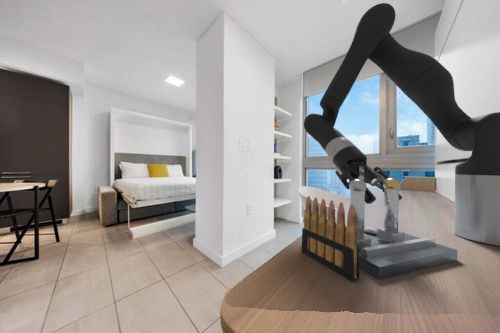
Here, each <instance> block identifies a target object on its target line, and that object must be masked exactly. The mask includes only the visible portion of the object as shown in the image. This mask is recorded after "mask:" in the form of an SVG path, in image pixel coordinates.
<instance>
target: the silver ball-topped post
mask: <svg viewBox="0 0 500 333" xmlns="http://www.w3.org/2000/svg"><path fill="white" fill-rule="evenodd" d="M349 188H350V189H349V190H350V191H349V192H350V196H349V197H350V198H349V207H350V206H351V204H352V205H353V206H354V209H355V214H356V229H357V247H358V251H360V250H362V248H364V247H370V246H371V238H368V237H366V236H364V230H365V215H366V214H365V211H366V210H365V208H366V206H365V205H366V202H365V190H366V188H368V187H367V183H365V182H364V181H362V180H360V179H355V180H352V181H351V182H350V184H349Z"/></svg>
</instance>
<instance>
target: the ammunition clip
mask: <svg viewBox="0 0 500 333" xmlns="http://www.w3.org/2000/svg"><path fill="white" fill-rule="evenodd" d="M335 208H336V207H335V204H334V201H333V200H330V201H329V204H328V211H327V204H326V200H325V198H322V199H321V202H320V205H319V202H318V199H317V196H316V197H314V198H313V203H312V201H311V197H310V195H308V196H307V198H306V201H305V210H304V216H303V217H304V218H303V227H302V231H301V234H302V235H301V248H300V252H301V251H302V252H303V253H302V252H301V253H302V254H304V255H305V254H306V256H308V257H309V258H311V259H312V260H314V261H316V262H317V263H319V264H320V265H323V266H324V267H326V268H328V269H329V270H331V271H332V272H334V273H336V274H338V275H339V276H341V277H343V278H345V279H347V280H348V281H350V282H351V283H354V282H357V281H358V280H359V279H360V267H359V251H358V247H357V229H356V214H355V209H354V206H353V205H352V204H351V206H350V205H349V208H348V212H347V221H346V215H345V214H346V212H345V211H346V210H345V207H344V204H343V201H342V202H339V205H338V207H337V214H336V209H335ZM336 216H337V217H336ZM346 222H347V223H346Z"/></svg>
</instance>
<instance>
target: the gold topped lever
mask: <svg viewBox="0 0 500 333" xmlns="http://www.w3.org/2000/svg"><path fill="white" fill-rule="evenodd" d="M383 187H384V192H383V193H384V194H383V227H382V228H376V229H377V230H374V229H375V228H371V227H368V226H366V227H365V230H368V231H371V232H373V233H376V234H377V238H380V239H382V240H385V241H387V242H390V243H396V242H402V241H405V234H406V232H405V231H403V230H399V213H400V211H399V210H400V209H399V208H400V200H399V194H400V188H401V182H400V181H399V180H398V179H397V178H394V177H390V178H388V179H386V180H385V181H384V182H383Z"/></svg>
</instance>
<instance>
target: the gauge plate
mask: <svg viewBox="0 0 500 333" xmlns="http://www.w3.org/2000/svg"><path fill="white" fill-rule="evenodd" d="M373 229H374V230H377V229H378V228H373ZM364 236H366V237H368V238H371V246H370V247H364V248H362V250H360V251H359V269H362V270H363V271H364V272H366V273H367V274H369V275H371V276H372V277H375V278H376V279H378V280H383V279H386V278H387V279H388V278H391V277H394V276H398V275H399V276H400V275H403V274H407V273H411V272H415V271H420V270H423V269H428V268H432V267H435V266H440V265H444V264H449V263H452V262H455V261H458V250H457V249H454V248H451V247H448V246H445V245H444V244H443V245H442V244H438V243H436V238H433V237H430V236H429V237H422V238H421V237H418V236H414V235H411V234H408V233H405V241H402V242H396V243H390V242H387V241H385V240H382V239H380V238H377V234H376V233H373V232H371V231H368V230H366V229H364Z"/></svg>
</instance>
